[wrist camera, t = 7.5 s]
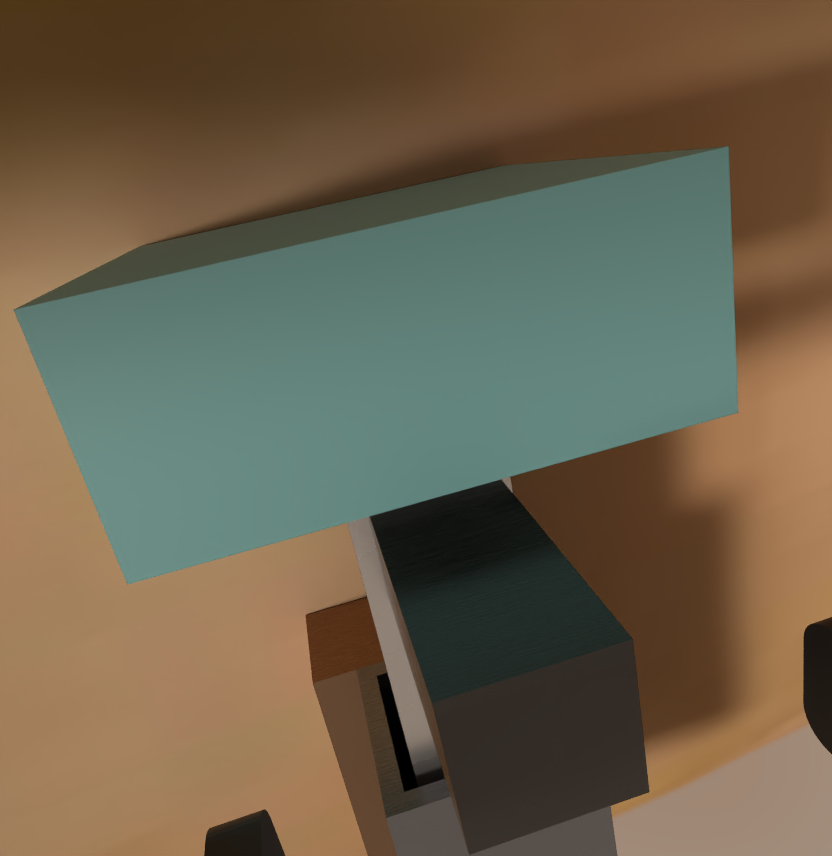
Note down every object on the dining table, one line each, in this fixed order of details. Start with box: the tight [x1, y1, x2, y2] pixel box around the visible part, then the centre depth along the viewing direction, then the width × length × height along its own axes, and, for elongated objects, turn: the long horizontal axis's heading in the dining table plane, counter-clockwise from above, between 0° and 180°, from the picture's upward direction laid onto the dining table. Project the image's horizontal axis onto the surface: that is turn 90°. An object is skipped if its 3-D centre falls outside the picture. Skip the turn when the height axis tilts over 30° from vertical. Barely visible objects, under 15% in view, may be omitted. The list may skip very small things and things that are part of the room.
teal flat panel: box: [14, 146, 738, 584], centre depth 18 cm, size 5×12×12 cm, turn 102°
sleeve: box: [306, 597, 617, 856], centre depth 25 cm, size 12×9×10 cm
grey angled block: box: [348, 477, 649, 855], centre depth 16 cm, size 16×4×11 cm, turn 12°
